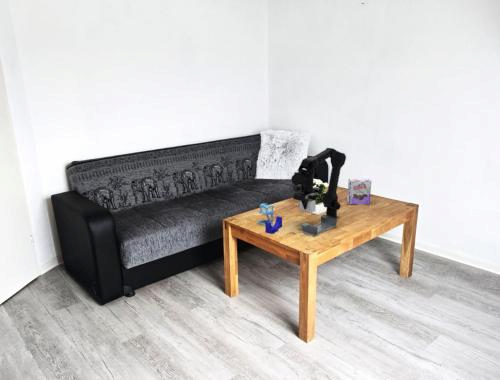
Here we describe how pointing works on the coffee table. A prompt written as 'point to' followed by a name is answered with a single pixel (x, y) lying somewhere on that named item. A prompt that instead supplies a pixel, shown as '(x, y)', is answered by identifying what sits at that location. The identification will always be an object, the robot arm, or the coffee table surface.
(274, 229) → the cable clip
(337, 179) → the robot arm
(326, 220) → the rail
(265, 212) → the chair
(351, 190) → the candy box
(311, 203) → the module
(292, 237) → the coffee table surface
